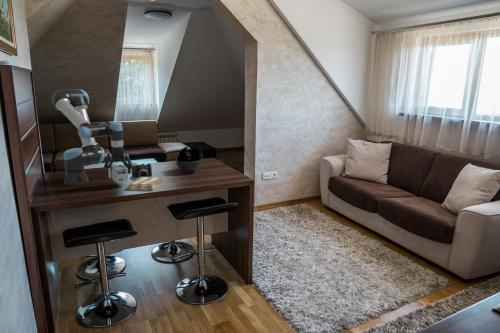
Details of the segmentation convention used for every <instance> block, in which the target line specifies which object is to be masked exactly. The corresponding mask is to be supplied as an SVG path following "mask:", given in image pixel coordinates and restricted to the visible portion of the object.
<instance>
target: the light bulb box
mask: <svg viewBox="0 0 500 333" xmlns="http://www.w3.org/2000/svg"><path fill="white" fill-rule="evenodd" d="M110 168H111V170H112V177H111V180H112V181H114V182H115V183H117V184H120V183H121V184H122V183H127V182H128V179H127V167H126V166H125V165H124V164H122V163H120V162H119V163H113V164H112V165H111V166H110Z"/></svg>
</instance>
